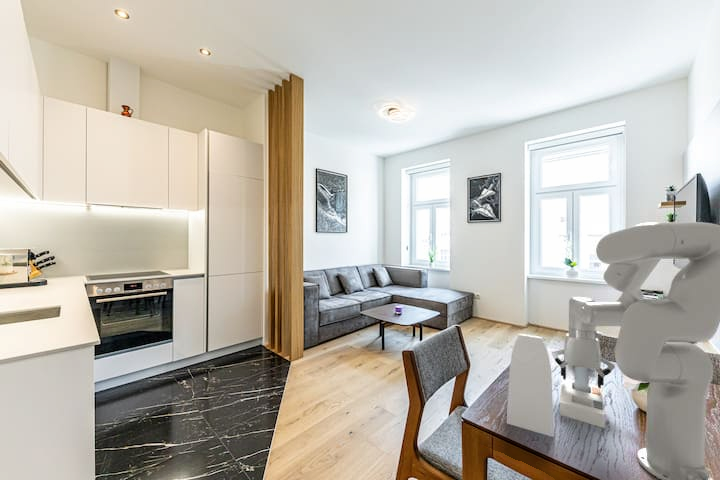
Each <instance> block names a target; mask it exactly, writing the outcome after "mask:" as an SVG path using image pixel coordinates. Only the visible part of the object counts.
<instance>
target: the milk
mask: <svg viewBox="0 0 720 480" xmlns="http://www.w3.org/2000/svg"><path fill="white" fill-rule="evenodd" d="M510 357H511V358H510V363H509V376H508V389H507V390H508V392H507V407H506V409H507V410H506V424H507V425H509V426H510V425H511V426H514V427H517V428H521V429H525V430H527V431H528V430H529V431H531V432H535V433H539V434H542V435H545V436H547V437H548V436H549V437H552V438H555V431H554V430H555V428H554V427H555V425H554V405H553V404H554V402H553V380H552V379H553V378H552V377H553V376H552V366H551V359H550V355H549V351H548V350H547V346H546V343H545V342H544V340H543V338H542V336H537V335H530V334H524V333H518V336H517V338H516V340H515V342H514V344H513V348H512V351H511V356H510Z"/></svg>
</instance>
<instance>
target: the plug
mask: <svg viewBox="0 0 720 480" xmlns="http://www.w3.org/2000/svg"><path fill="white" fill-rule="evenodd" d="M573 367H574V368H573V370H574V371H573V372H574V374H573V376H574V377H573V378H574V379H573V380H574V389H576V390H580V391H584V392H587V393H589V384H590V380H589V379H590V369H588V368H585V367H580V366H574V365H573Z"/></svg>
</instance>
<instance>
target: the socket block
mask: <svg viewBox="0 0 720 480" xmlns="http://www.w3.org/2000/svg"><path fill="white" fill-rule="evenodd" d="M560 390H561V391H560V401H559V415H560V416H562V417H563V416H564V417H567V418H570V419H573V420H576V421H580V422H583V423H586V424H589V425H593V426H595V427H600V428H603V429H606V412H605V404H604V398H603V393H602V392H603V391H602V387H601V388H598V385H596V384H592V383H589V393H587V392H584V391H580V390H576V389H574V379H571V378H567V377H566V380H564V379H563V378H562V380H561V388H560Z"/></svg>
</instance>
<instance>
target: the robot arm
mask: <svg viewBox="0 0 720 480" xmlns="http://www.w3.org/2000/svg"><path fill="white" fill-rule="evenodd" d="M595 253H596V256H597V258H598V260H600V261H601V262H602V263H604V264H607V265H608V266H607V268H606V270H605V271H604V273H603V280H604V281H605V283H606V284H607V285H608V286H610V287H611V288H613V289H614V290H617V291H619V292H620V293H622V294H621V295H620V297H618V299H617V300H616V301H595V300H594V299H593V298H591V297H583V296H572V297H570V298H569V299H568V300H569V301H568V332H569V333H568V332H567V333H566V334H565V337H564V344H563V346H564V347H563V349H560V350H556V351H552V352H551V355H552V357H553V359H554V361H555V363H556V364H558V366H559V367H560V376H562V379H564V380H566V378H567V366H568V365H570V366H573V367H574V366H580V367H585V368H588V369H589V370H595V371H596V372H597V386H598V388H601V389H602V386H605V385H604V380H605V379H604V378H605V377H606V376H607V375H609V374H611V372H612V371H613V370H614V369H615V367H616V366H617V367H618V369H619V370H620V372H621V373H622V375H624V376H626V377H627V378H629V379H631V380H633V381H637V382H641V383H649V384H648V387H647V391H646V423H645V424H646V425H645V426H646V427H645V428H646V431H645V432H646V435H645V438H646V439H645V443H646V444H645V447H644V448H640V449H639V450H638V451H637V453H636V454H637V455H636V458H637V460H638V463H639V464H640V465H641V466H642V467H643V468H644V469H645V470H646V471H647V472H649V473H650V474H651V475H653V476H654V477H655V476H656V478H657V479H659V480H660V479H661V480H714V478H713V477H712V476H711V469H710V468H708V467H706V466H705V452H706V451H705V448H706V446H705V445H706V444H705V443H706V410H707V409H706V407H707V405H706V404H707V397H708V393H709V392H708V391H709V388H710V384H711V382H712V380H713V375H714V366H713V365H714V364H713V362H712V359H711V358H710V356H709V355H708V354H707V352H706V351H705V350H704V349H702V348H701V347H700V346H698V345H697V344H693V343H704V342H708V341H710V340H711V339H712V338H713V337H715V335H716V333H717V331H718V328H719V326H720V225H719V224H716V223H711V222H702V221H701V222H699V221H675V222H674V221H672V222H669V221H668V222H667V221H666V222H665V221H661V222H656V221H655V222H654V221H653V222H644V223H639V224H636V225H633V226H630V227H627V228H626V227H625V228H623V229H620V230H617V231H613V232H610V233H608V234H606V235H604V236H603V237H602V238H600V240H599V241H598V243H597V245H596V249H595ZM661 260H688V261H689V262H688V263H687V264H686V265H685V266H683V267H682V268H681V269H679V271H678V272H677V273H676V274H675V276H674V277H673V279H672V281H671V285H670V288H669V290H668V293H667V295H666V297H664V298H661V299H658V298H655V299H654V298H653V299H651V298H650V299H649V298H648V299H644V298H645V297H644V294H643V291H642V290H641V287H642V286H643V284H644V283H645V282H646V280H647V278H649V276H650V274H651V273H652V272H653V271H654V270H655V269H656V266H657V265H658V264H659V263H660V261H661ZM597 327H619V328H620V329H619V332H618V337H617V340H616V343H615V344H616V345H615V349H614V357H615V358H614V359H615V362H616V365H615V364H614V363H612V362H611V361H609V360H607V359H606V358H604V357H602V354H601V347H600V341H599V339H598V338H602V332H598V330H597ZM561 355H563V360H561V358H559V356H561ZM601 364H604V365H606V366H607V367H605V368H603V369H602V368H601V367H602V366H601Z"/></svg>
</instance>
